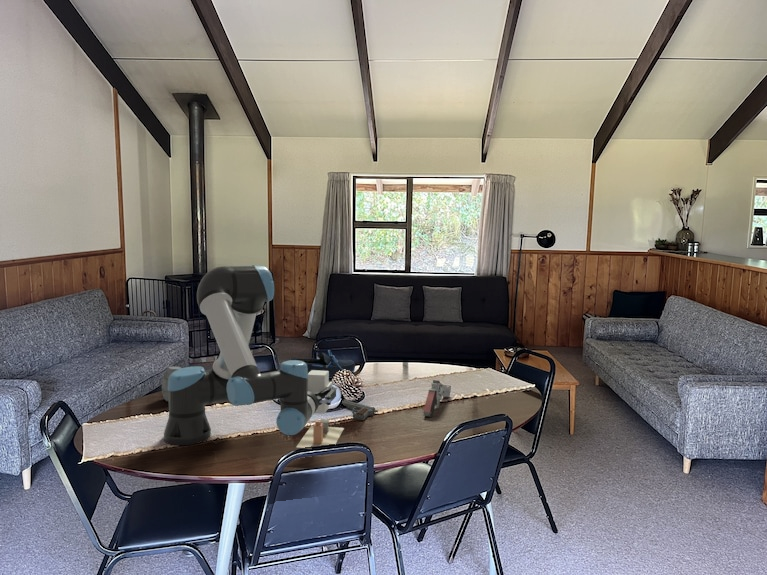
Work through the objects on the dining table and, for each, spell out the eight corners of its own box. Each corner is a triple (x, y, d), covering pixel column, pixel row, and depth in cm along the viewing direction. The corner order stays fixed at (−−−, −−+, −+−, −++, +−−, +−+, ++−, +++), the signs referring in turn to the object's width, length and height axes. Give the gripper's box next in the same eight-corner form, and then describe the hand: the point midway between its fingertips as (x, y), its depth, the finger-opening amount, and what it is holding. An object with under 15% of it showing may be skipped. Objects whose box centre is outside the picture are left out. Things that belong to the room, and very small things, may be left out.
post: (321, 443, 188) (321, 422, 188) (313, 443, 189) (313, 422, 188) (322, 440, 191) (323, 419, 190) (315, 440, 191) (315, 419, 190)
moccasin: (361, 375, 280) (362, 351, 279) (298, 386, 259) (299, 360, 258) (346, 369, 291) (346, 346, 290) (284, 379, 270) (284, 354, 269)
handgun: (326, 412, 225) (346, 405, 235) (362, 422, 214) (382, 414, 224) (326, 405, 225) (346, 398, 235) (362, 415, 214) (382, 407, 223)
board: (332, 453, 184) (332, 437, 183) (295, 450, 185) (295, 435, 185) (344, 431, 204) (344, 416, 203) (311, 429, 205) (311, 415, 204)
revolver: (421, 415, 219) (426, 376, 222) (439, 420, 245) (444, 385, 249) (430, 416, 218) (435, 377, 221) (448, 421, 244) (452, 386, 248)
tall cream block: (324, 413, 185) (324, 375, 184) (307, 412, 186) (307, 374, 184) (328, 408, 191) (328, 370, 189) (311, 407, 192) (311, 370, 190)
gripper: (272, 416, 171) (294, 394, 194) (334, 420, 169) (349, 397, 192) (272, 392, 171) (294, 372, 193) (334, 395, 168) (349, 375, 191)
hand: (321, 385), depth 193 cm, fingers closed on tall cream block, 6 cm apart
